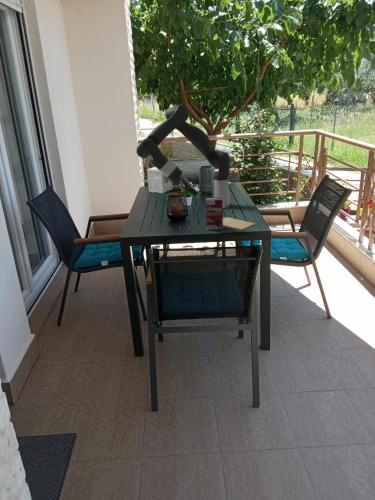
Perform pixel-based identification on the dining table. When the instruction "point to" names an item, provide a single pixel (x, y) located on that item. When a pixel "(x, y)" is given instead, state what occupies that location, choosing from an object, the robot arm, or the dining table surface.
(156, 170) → the supplement box
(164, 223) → the dining table surface
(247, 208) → the dining table surface
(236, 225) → the cork placemat
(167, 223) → the dining table surface
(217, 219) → the supplement box
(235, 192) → the dining table surface
